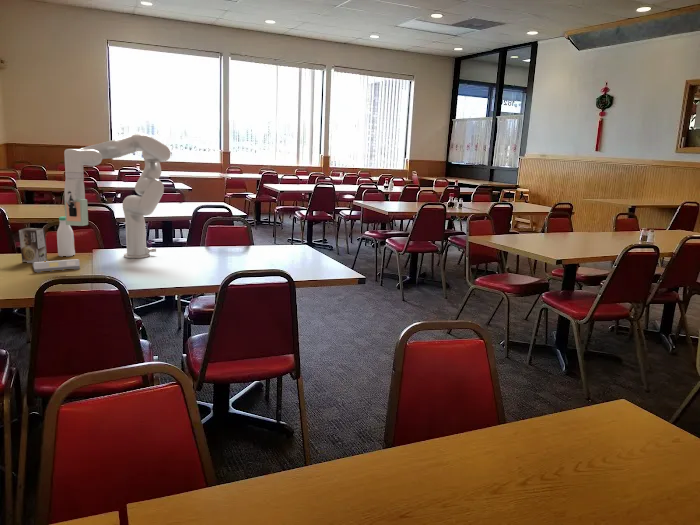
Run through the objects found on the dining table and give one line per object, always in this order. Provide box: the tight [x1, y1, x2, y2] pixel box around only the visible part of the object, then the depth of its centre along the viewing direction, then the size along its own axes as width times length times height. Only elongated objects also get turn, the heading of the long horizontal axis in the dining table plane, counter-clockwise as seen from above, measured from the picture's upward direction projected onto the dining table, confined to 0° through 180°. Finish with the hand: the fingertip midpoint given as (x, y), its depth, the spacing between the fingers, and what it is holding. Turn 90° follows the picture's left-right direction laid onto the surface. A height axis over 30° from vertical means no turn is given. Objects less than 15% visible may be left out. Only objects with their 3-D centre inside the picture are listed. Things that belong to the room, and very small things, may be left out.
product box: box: [64, 198, 89, 227], centre depth 252 cm, size 5×8×12 cm, turn 88°
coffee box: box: [18, 227, 48, 264], centre depth 261 cm, size 9×6×16 cm
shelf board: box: [32, 258, 81, 273], centre depth 251 cm, size 18×15×4 cm
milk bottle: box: [56, 215, 76, 257], centre depth 277 cm, size 8×8×20 cm
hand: (76, 215), depth 253 cm, fingers closed on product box, 5 cm apart
